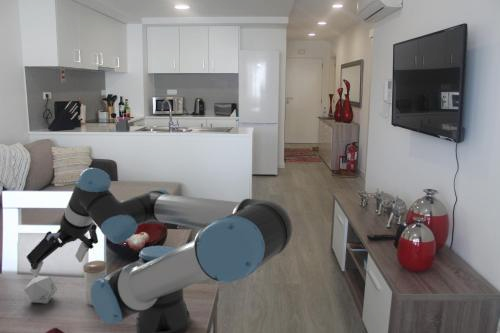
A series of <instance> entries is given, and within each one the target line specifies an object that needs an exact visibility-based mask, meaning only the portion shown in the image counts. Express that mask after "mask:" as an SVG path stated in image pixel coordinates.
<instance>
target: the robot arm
mask: <svg viewBox="0 0 500 333" xmlns="http://www.w3.org/2000/svg"><path fill="white" fill-rule="evenodd" d="M111 180H112V179H111V176H110V175H109V174H108V173H107V172H106V171H104V170H103V169H101V168H98V167H89V168H86V169H84V170H82V172H81V173H80V175H79V177H78V179H77V180H76V182H75V186H74V187H73V191H72V194H71V195H70V196H71V197H70V199H69V201H68V203H67V206H66V207H65V211H64V213H63V215H62V217H61V220H60V225H59V229H58V230H57V231H56V232H53V233H52V231H48V232H46V234H45V236H44V237H43V239H42V240H41V241H40V242H38V244H37V245H36V246H35V247H34V248H33V249H32V250H31V251H30V252H29V253H28V254H27V255H26V259H27V261H28V262H29V264H30V270H29V271H30V272H31V274H32V276H33V278H36V277H38V276H39V274H40V272H41V269H42V267H43V264H44V260H45V259H46V258H48V257H49V256H50V255H52V254H53V253H54V252H55V251H56V250H57V249H58V248H59V249H60V248H63V247H65V245H66V244H68V243H71V242H77V240H80V241H81V243H80V244H79V247H78V248H77V251H76V253H75V258H76V259H77V261H78V262H79V263H82V262H83V260H84V258H85V256H86V253H88V251H89V249H90V250H92V249H93V248H94V244H95V245H96V244H98V243H99V238H98V234H97V228H99V229H100V232H101V233H102V234H103V235H104V236H106V238H107V239H108V240H109V241H110V242H111V243H112V244H122V243H124V242H125V241H127V240H128V239H130V238H131V237H132V236H134V234H136V232H137V230H138V226H141V225H144V224H146V223H149V222H158V223H165V224H173V225H178V226H184V227H189V228H196V229H200V230H198V232H197V234H196V236H195V238H194V240H191V241H190V242H188V243H186V244H183V245H182V246H179V247H175V248H174V247H172V246H167V245H151V246H148V247H147V246H146V247H144V248H142V249H141V250H140V251H139V254H138V257H139V259H138V260H136V261H134V262H130V263H129V264H127V265H124V266H122V267H121V268H120V267H119V268H118V269H116V270H114V271H112V272H110V273H106V274H107V275H105V276H101V277H100V278H99V279H97V280H95V281H94V282H93V284H92V286H91V300H92V303H93V309H94V310H95V312H96V314H97V316H98V317H99V318H100V319H101V320H102V322H104V323H106V324H107V325H110V326H111V325H112V326H113V325H115V324H118V323H121V322H122V321H123V320H124V319H126V318H128V317H130V316H132V315H134V314H137V313H138V315H136V316H137V317H136V320H135V326H136V327H135V328H136V332H137V333H186V332H187V331H188V329H189V328H190V325H191V315H190V312H189V310H188V307H187V304H186V302H185V298H184V289H185V288H188V287H191V286H193V285H195V284H199V283H201V282H203V281H206V280H208V279H210V280H212V281H214V282H222V283H234V282H237V281H240V280H243V279H245V278H247V277H248V276H251V275H252V274H253V273H255V271H257V269H258V268H261V266H263V265H265V264H266V263H267V262H268V261H271V259H273V258H274V257H275V256H277V255H279V254H280V253H282V252H283V251H284V250H285V249H286V248H287V247H288V245H289V243H290V242H291V239H292V235H293V224H292V219H291V218H290V215H289V213H288V212H287V211H286V210H285V208H283V207H282V206H281V205H280V204H278V203H276V202H274V201H271V200H266V199H254V198H244V199H242V200H241V201H232V200H231V201H230V200H222V199H214V198H203V197H194V196H193V197H192V196H185V195H174V194H171V193H170V192H168V191H167V190H166V189H154V190H150V191H149V192H145V193H141V194H139V195H134V196H131V197H129V198H126V199H123V200H122V199H121V200H118V199H117V198H116V196H115V195H114V194H113V193H112V192H111V191H110V188H111V183H112V181H111ZM87 233H88V234H89V237H90V238H88V237H87V236H86V234H87Z"/></svg>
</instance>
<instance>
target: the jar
mask: <svg viewBox="0 0 500 333" xmlns="http://www.w3.org/2000/svg"><path fill="white" fill-rule="evenodd" d="M107 267H108V266H107V262H106V261H105V260H104V261H103V260H92V261H89V262H86V263H85V264H83V267H82V268H83V270H82V271H83V274H84V289H85V301H86V304H87V305H88V306H91V307H92V306H93V303H92V300H91V286H92V284H93V282H94V281H95V280H97V279H99V278H100V277H101V276H105V275H107V274H108V273H107ZM93 307H94V306H93Z"/></svg>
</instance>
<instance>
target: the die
mask: <svg viewBox="0 0 500 333" xmlns="http://www.w3.org/2000/svg"><path fill="white" fill-rule="evenodd" d="M23 291H24V293H25V294H26V295H27V297H28V299H29V300H30V302H31V303H35V304H45V305H46V304H48V303H49V302H50V300H51V298H53V296H54V295H55V294H56V292H57V291H58V287H57V285H56V284H55V283H54V281H53V279H52V278H51V276H46V275H45V276H43V275H38V277H36V278H34V277H32V279H31V280H30V282H29V283H28V284H27V285H26V286H25V287H24V289H23Z"/></svg>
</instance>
